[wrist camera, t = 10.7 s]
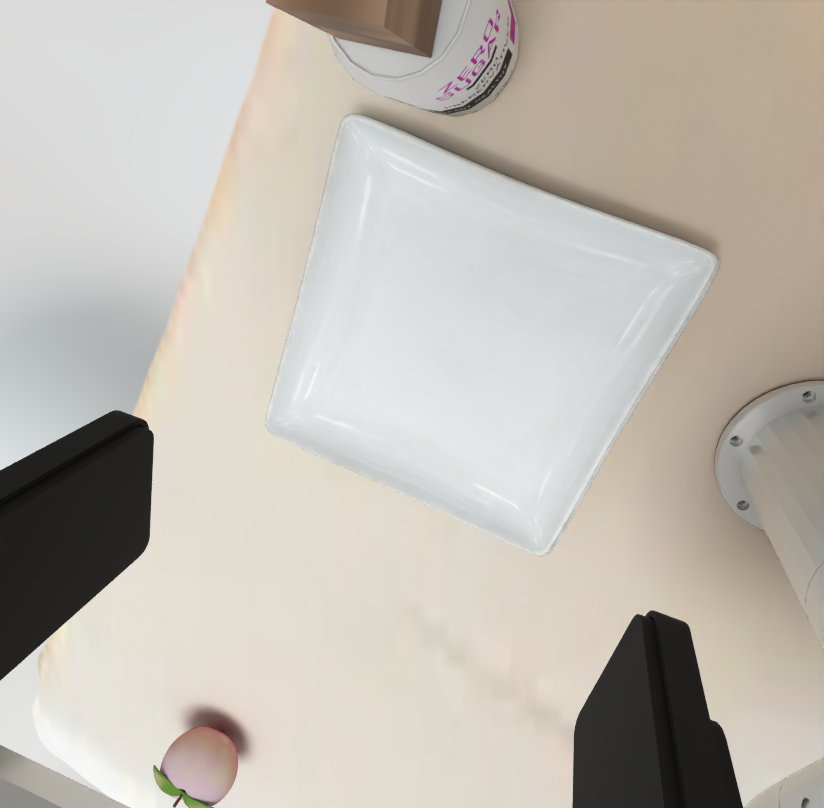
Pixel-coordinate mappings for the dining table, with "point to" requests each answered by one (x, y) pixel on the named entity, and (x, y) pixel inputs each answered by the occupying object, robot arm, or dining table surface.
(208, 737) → the decorative fruit
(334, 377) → the square plate
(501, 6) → the supplement can
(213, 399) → the dining table surface
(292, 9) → the walnut block
